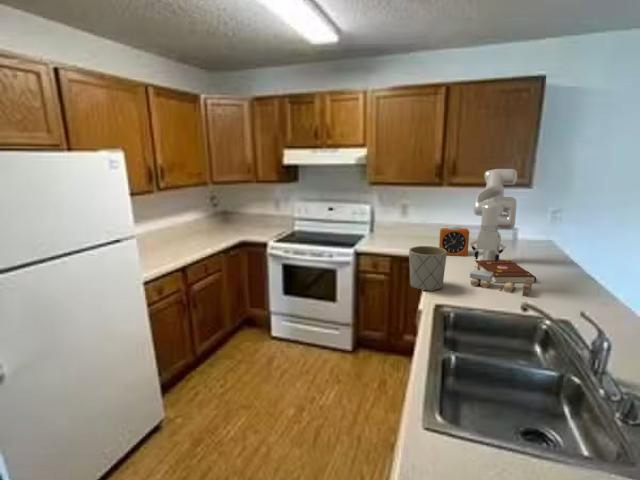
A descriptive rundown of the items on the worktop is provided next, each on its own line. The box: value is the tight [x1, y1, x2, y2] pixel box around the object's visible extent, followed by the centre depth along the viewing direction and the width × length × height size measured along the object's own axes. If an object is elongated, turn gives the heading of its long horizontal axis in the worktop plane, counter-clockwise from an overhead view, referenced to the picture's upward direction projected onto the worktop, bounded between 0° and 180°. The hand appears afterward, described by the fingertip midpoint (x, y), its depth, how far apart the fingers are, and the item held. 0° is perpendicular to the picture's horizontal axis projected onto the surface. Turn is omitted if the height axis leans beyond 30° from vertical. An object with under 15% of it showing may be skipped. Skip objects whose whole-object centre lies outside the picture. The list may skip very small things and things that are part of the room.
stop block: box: [522, 280, 533, 298], centre depth 191 cm, size 12×2×5 cm, turn 145°
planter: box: [408, 245, 447, 292], centre depth 202 cm, size 19×19×20 cm
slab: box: [469, 269, 494, 281], centre depth 203 cm, size 8×10×2 cm
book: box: [474, 259, 537, 284], centre depth 221 cm, size 23×32×5 cm
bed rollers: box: [470, 278, 517, 294], centre depth 200 cm, size 9×21×4 cm, turn 55°
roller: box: [502, 280, 516, 293], centre depth 196 cm, size 8×4×4 cm, turn 145°
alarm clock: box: [438, 225, 470, 257], centre depth 262 cm, size 18×9×21 cm, turn 76°
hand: (486, 260), depth 200 cm, fingers open, 9 cm apart
